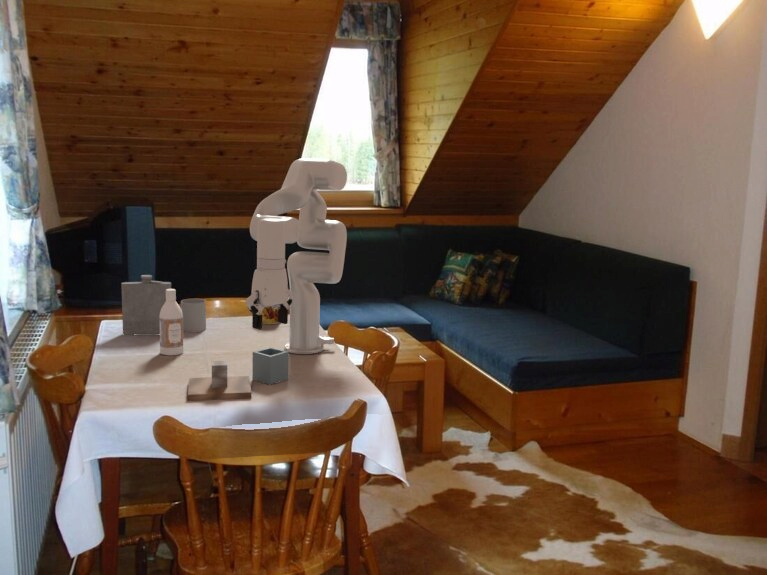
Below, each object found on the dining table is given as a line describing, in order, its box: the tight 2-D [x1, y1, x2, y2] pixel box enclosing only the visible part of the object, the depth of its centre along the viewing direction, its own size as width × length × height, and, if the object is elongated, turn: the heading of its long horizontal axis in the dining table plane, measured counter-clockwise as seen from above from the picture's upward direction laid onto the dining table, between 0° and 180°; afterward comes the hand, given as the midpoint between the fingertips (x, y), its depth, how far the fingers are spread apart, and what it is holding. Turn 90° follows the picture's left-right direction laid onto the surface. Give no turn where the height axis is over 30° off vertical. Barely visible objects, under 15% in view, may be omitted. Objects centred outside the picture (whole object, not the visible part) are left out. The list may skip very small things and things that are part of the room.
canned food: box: [260, 305, 280, 325], centre depth 280 cm, size 8×8×12 cm
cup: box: [180, 298, 207, 333], centre depth 265 cm, size 8×8×10 cm
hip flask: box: [121, 274, 172, 336], centre depth 256 cm, size 16×4×20 cm, turn 102°
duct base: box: [187, 360, 252, 401], centre depth 202 cm, size 16×14×8 cm
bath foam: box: [159, 288, 184, 357], centre depth 234 cm, size 7×7×20 cm
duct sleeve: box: [252, 346, 290, 385], centre depth 213 cm, size 7×7×8 cm
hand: (270, 325), depth 210 cm, fingers open, 9 cm apart
